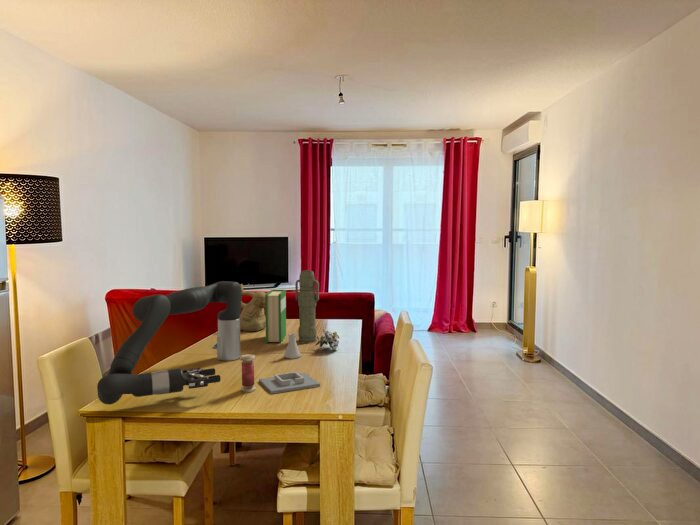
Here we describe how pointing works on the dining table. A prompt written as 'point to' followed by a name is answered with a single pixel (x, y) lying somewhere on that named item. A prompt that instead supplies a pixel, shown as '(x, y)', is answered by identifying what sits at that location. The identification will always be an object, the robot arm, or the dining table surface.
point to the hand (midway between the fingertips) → (217, 374)
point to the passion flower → (329, 340)
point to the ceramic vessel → (253, 311)
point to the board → (288, 382)
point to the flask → (292, 348)
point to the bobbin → (247, 373)
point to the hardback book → (275, 315)
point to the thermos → (307, 305)
